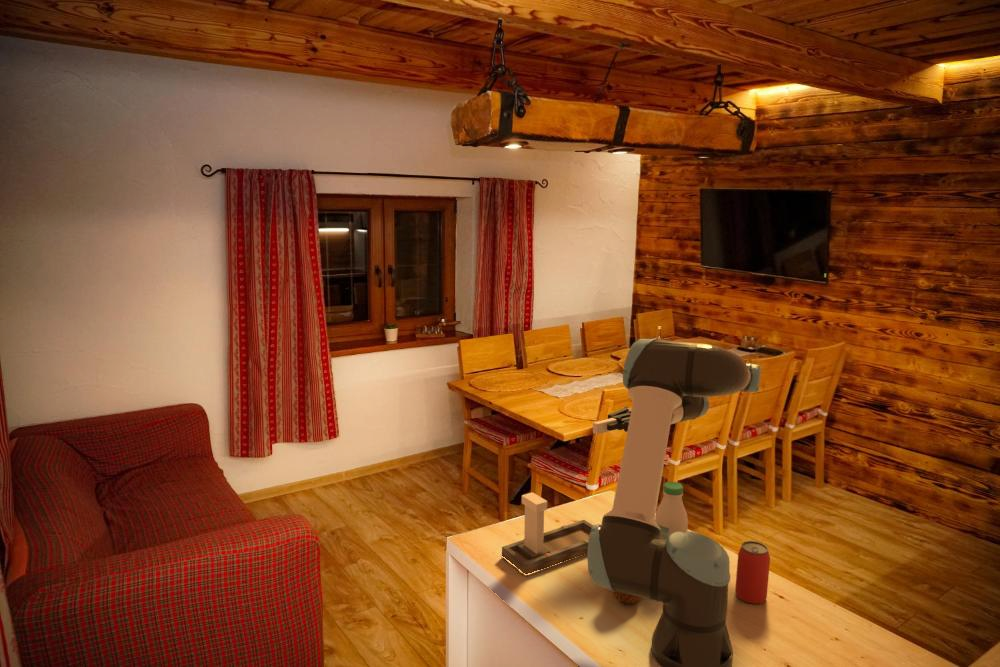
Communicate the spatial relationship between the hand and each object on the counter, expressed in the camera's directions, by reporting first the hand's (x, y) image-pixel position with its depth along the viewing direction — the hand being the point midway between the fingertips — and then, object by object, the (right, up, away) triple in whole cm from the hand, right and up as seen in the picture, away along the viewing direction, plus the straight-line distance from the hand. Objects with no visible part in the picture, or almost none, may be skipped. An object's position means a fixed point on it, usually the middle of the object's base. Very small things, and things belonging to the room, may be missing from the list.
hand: (595, 428), depth 171 cm
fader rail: (-10, -31, 0) cm, 32 cm away
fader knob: (-16, -30, -5) cm, 34 cm away
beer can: (+32, -35, -19) cm, 51 cm away
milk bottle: (+17, -32, -5) cm, 37 cm away
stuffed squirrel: (+5, -35, -18) cm, 39 cm away
